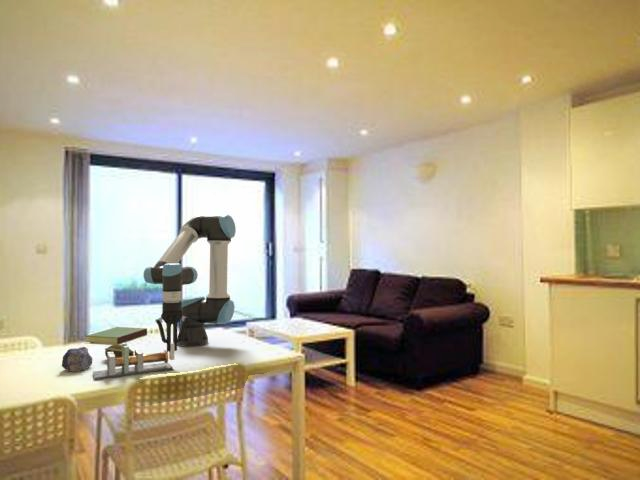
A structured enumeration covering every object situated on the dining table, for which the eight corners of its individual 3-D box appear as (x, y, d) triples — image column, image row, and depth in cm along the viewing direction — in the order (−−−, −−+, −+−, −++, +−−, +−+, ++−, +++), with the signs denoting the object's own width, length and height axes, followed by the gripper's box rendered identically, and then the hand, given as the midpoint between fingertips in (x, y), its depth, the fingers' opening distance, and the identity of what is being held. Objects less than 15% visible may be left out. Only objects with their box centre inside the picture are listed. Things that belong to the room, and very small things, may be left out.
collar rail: (92, 374, 176) (93, 345, 177) (167, 364, 190) (167, 338, 190) (94, 380, 169) (94, 350, 169) (172, 370, 183) (172, 342, 183)
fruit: (104, 365, 190) (104, 349, 190) (104, 358, 200) (104, 343, 200) (134, 362, 194) (134, 346, 194) (132, 355, 205) (132, 341, 205)
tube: (110, 368, 178) (110, 354, 178) (165, 361, 188) (165, 348, 188) (111, 371, 173) (111, 357, 173) (168, 364, 184) (168, 351, 184)
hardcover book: (118, 345, 228) (118, 337, 228) (85, 343, 232) (85, 335, 232) (147, 334, 252) (147, 328, 252) (117, 333, 256) (117, 326, 256)
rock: (67, 359, 189) (76, 339, 187) (90, 370, 189) (99, 350, 187) (51, 371, 178) (61, 351, 176) (76, 383, 179) (85, 363, 177)
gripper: (157, 303, 180) (157, 363, 180) (190, 301, 187) (190, 359, 187) (153, 301, 187) (153, 359, 187) (185, 299, 193) (185, 355, 193)
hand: (171, 359), depth 187 cm, fingers closed
